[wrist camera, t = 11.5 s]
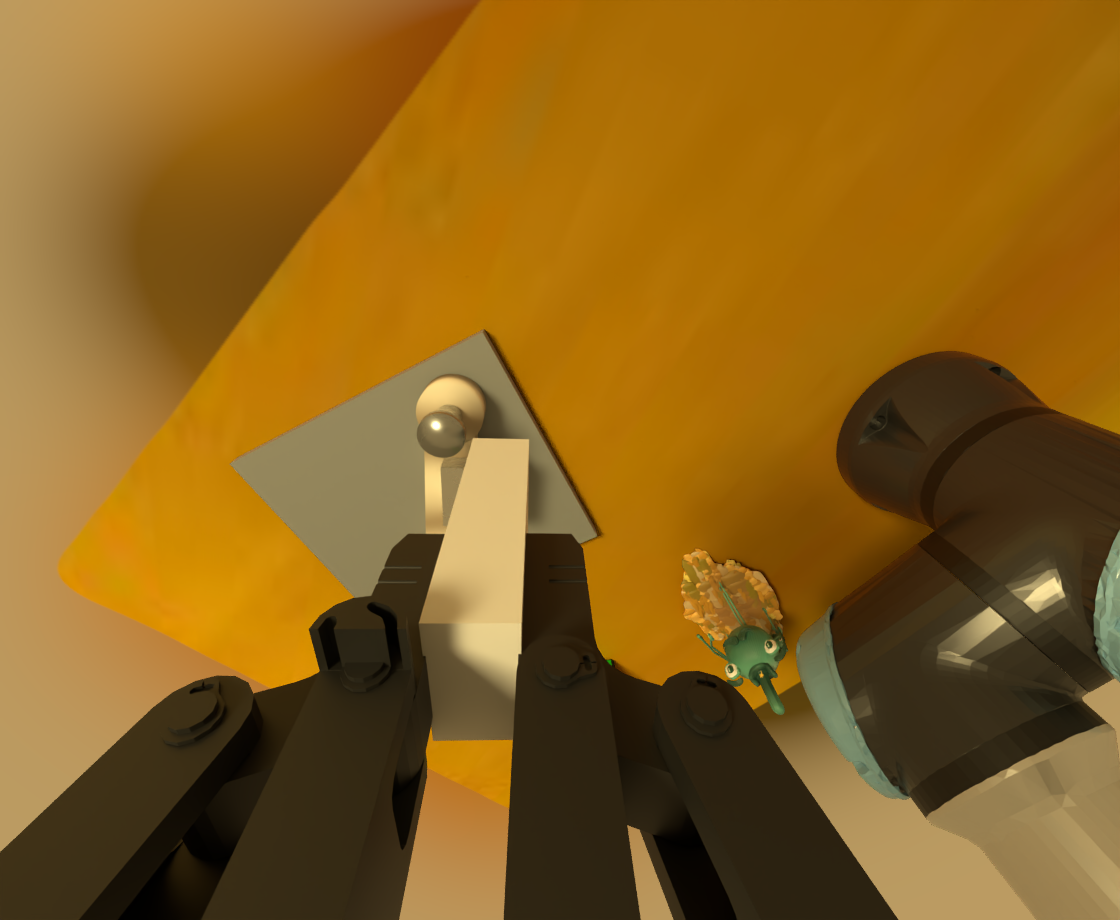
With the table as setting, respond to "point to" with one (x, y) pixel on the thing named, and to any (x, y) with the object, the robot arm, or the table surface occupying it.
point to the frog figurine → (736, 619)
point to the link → (473, 410)
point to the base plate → (396, 467)
